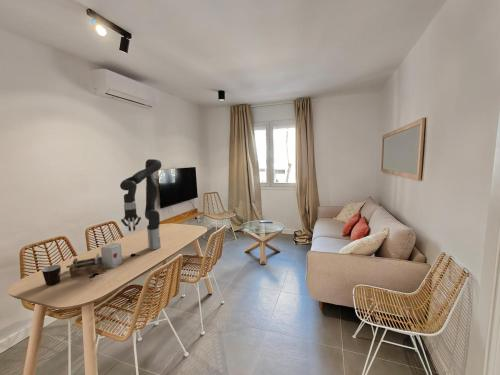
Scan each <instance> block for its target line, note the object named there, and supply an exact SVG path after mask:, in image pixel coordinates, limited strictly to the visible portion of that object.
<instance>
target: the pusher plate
mask: <svg viewBox="0 0 500 375" xmlns="http://www.w3.org/2000/svg"><path fill="white" fill-rule="evenodd" d="M100 257H101V256H100V253H96V256H95V257H94V258H95V261H91V262H86V263H80V264H75V265H74V266H79V265H85V264H90V263H95V264H96V265H98V264H100ZM70 266H71V264H70V265H66V266H65V267H66V269H68V268H70Z"/></svg>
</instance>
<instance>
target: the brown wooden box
mask: <svg viewBox="0 0 500 375" xmlns="http://www.w3.org/2000/svg"><path fill="white" fill-rule="evenodd" d="M99 257H100V264H98V265H96V264H95V263H90V264H85V265H79V266H74V265H75V264H80V263H86V262H91V261H95V258H96V257H92V258H86V259H82V260H78V258H76V257H75V258H73V260H72V264H70V265H71V266H70V265H69V266H70V267H69V269H68V270H69V276H70V279H74V278H78V277H82V276H83V277H84V276H88V275H92V274H97V273H103V272H106V267H105V264H104V263H103V264H102V256H99Z"/></svg>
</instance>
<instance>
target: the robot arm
mask: <svg viewBox="0 0 500 375" xmlns="http://www.w3.org/2000/svg"><path fill="white" fill-rule="evenodd" d="M144 166H145V168H144V169H141V170H139V171H137V172H135V173H134V174H133V175H132V176H130V177H127V178H125V179H123V180H122V181H121V182H120V183H119V184H120V185H119V188H120V189H121V190H122V191H127V193H125V194H124V195H123V203H124V204H123V209H124V216H123V218H121V219H120V222H121V223H122V225H124V226H125V227H127V228H128V231H129V232H131V231H133V232H134V231H135V230H136V226H138V224H139V223H140V221H141V219H142V217H141V216H138V214H137V204H136V192H137V188H138V187H137V185H138V184H140V183H141V182H143V181H144V179H145V180H146V184H145V185H146V186H145V209H144V218H145V219H146V220H148V224H147V225H146V230H147V243H148V246H147V247H148V250H150V251H151V250H152V251H153V250H157V249H160V248H161V247H162V245H161V236H160V224H161V222H160V220H161V219H160V218H161V217H160V212H159V211H158V210H157V209H155V208H156V206H155V205H156V200H157V198H158V194H159V184H158V183H157V180H156V179H155V177H154V174H155V172H158V171H160V169H162V161H160V160H159V159H155V158H154V159H152V158H151V159H150V158H149V159H147V160H145V165H144ZM126 221H127V222H126ZM135 221H136V222H135ZM131 222H132V227H131ZM132 229H133V230H132Z"/></svg>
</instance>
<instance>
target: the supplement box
mask: <svg viewBox="0 0 500 375" xmlns="http://www.w3.org/2000/svg"><path fill="white" fill-rule="evenodd" d="M122 254H123V253H122V243H120V242H110V243H107V244H105V245H102V246H101V247H100V255H101V256H100V257H102V264H103V263H104V264H105V269H108V268H109V269H114V268H116V267H118V266H120V265H121V264H123V255H122Z"/></svg>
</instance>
